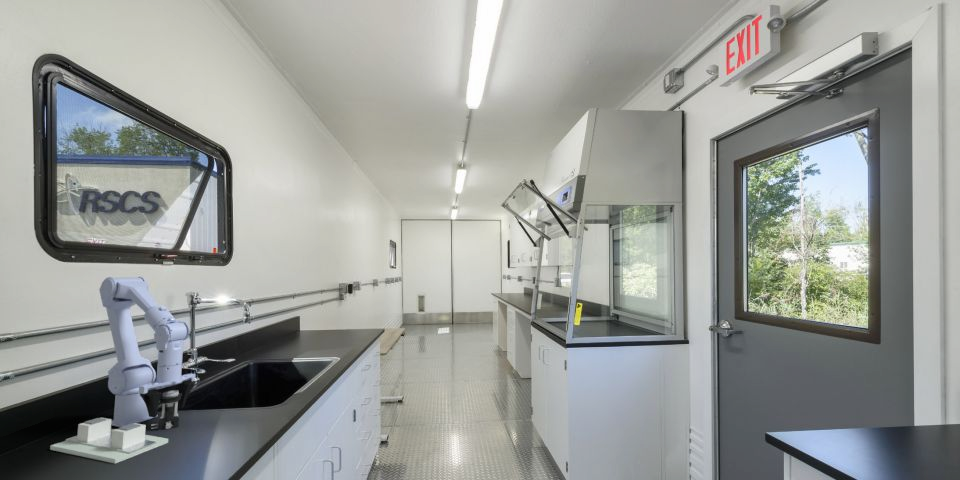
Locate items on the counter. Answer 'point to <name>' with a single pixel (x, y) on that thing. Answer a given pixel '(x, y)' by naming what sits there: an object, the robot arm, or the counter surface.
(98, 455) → the mounting board
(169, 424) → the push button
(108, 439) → the rail
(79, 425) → the mounted modules
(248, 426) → the counter surface
